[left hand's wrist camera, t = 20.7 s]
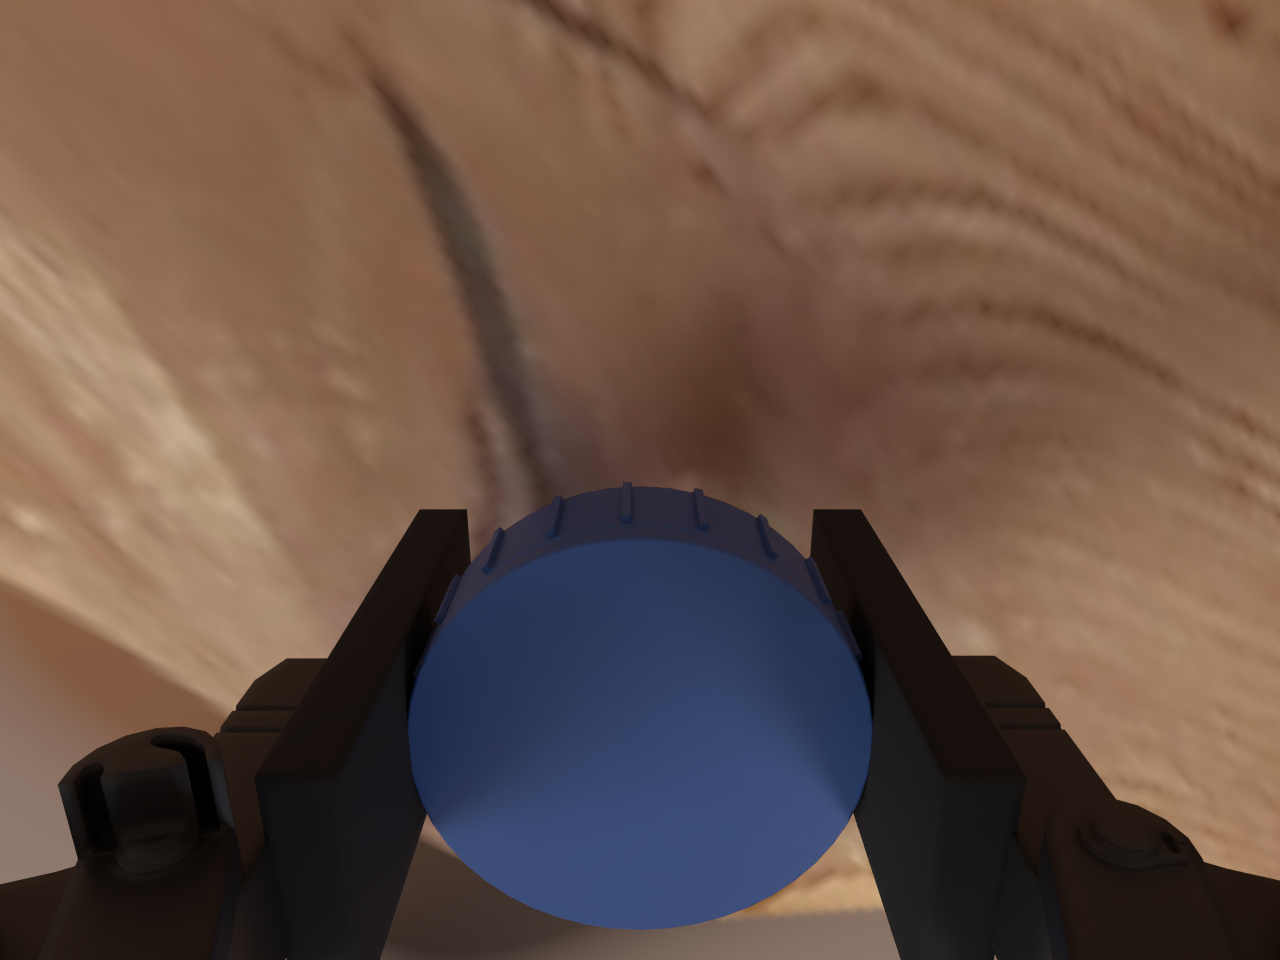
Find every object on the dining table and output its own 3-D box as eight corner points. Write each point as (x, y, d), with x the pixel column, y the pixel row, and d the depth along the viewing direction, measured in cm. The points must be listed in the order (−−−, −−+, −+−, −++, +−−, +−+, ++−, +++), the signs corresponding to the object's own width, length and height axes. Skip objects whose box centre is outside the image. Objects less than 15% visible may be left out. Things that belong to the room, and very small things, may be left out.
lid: (916, 739, 13) (955, 821, 11) (571, 897, 14) (563, 993, 12) (724, 401, 11) (738, 441, 9) (347, 609, 12) (303, 677, 10)
